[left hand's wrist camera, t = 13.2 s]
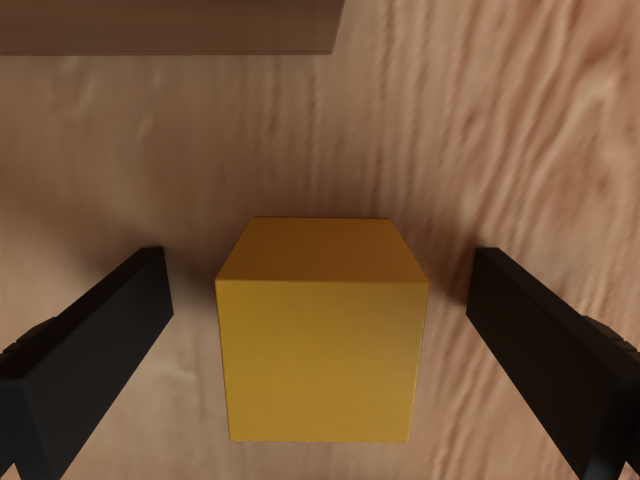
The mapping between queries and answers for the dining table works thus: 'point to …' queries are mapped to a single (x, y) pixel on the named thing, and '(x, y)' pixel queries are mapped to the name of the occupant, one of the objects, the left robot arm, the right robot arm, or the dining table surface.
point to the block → (320, 330)
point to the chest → (168, 27)
